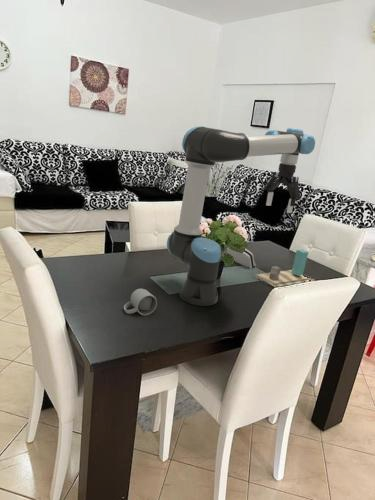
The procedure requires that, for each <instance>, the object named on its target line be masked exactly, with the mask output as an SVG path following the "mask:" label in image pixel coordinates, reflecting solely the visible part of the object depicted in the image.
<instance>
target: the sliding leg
mask: <svg viewBox="0 0 375 500" xmlns="http://www.w3.org/2000/svg"><path fill="white" fill-rule="evenodd" d="M308 255H309V252H308V251H307V250H306V249H296V251H295V256H294V260H293V264H292V268H291V270H292V272H291V273H293V274H295V275H297V276H298V275H303V274H304V272H305V267H306V263H307V261H308V260H307V259H308Z"/></svg>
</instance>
